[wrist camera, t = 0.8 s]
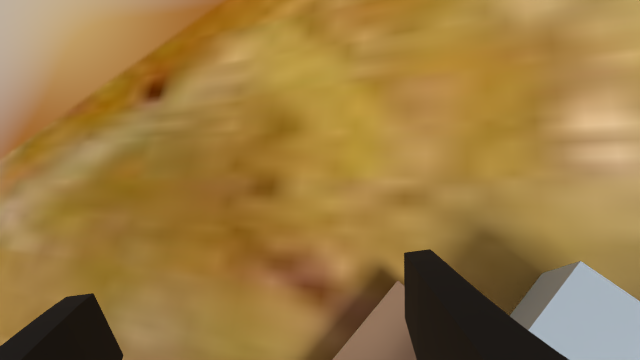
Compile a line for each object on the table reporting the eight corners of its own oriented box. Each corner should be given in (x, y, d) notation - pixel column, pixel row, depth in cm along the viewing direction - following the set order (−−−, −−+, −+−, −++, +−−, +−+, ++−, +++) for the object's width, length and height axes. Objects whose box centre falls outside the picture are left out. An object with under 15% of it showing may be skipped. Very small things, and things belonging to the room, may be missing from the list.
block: (623, 332, 20) (691, 336, 15) (573, 403, 19) (628, 430, 15) (541, 273, 21) (580, 261, 17) (493, 336, 21) (519, 341, 16)
